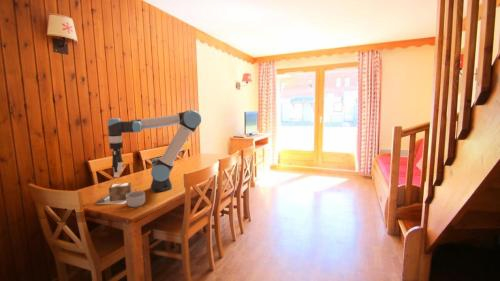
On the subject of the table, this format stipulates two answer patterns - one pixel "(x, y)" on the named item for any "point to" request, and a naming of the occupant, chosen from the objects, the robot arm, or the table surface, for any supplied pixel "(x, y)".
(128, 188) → the wooden box
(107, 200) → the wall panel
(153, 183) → the robot arm
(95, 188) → the table surface
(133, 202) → the teacup
